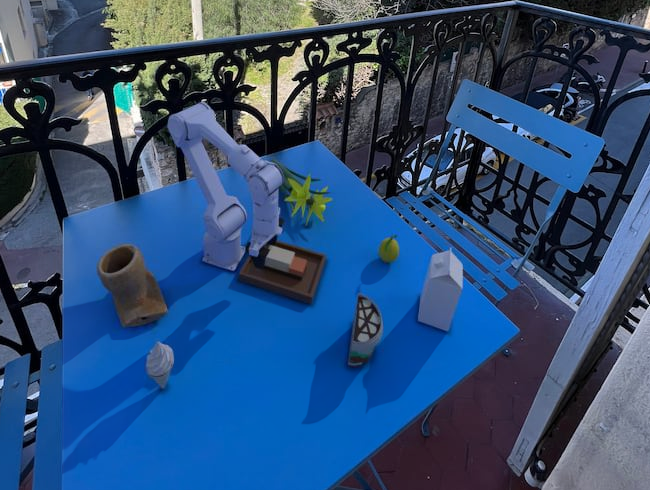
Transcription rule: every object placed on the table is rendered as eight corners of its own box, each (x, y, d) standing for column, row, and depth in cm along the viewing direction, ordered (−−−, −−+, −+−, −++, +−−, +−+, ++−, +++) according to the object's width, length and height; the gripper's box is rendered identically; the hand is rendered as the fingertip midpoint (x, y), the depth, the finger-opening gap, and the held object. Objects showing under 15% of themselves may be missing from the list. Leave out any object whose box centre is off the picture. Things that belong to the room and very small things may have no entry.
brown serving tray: (238, 280, 103) (238, 273, 102) (259, 241, 115) (260, 235, 114) (311, 304, 99) (312, 297, 98) (325, 261, 111) (326, 254, 110)
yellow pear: (381, 272, 109) (386, 245, 105) (371, 254, 114) (376, 228, 110) (402, 266, 111) (409, 240, 107) (392, 250, 116) (398, 224, 112)
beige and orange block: (261, 268, 106) (262, 256, 104) (268, 255, 110) (268, 243, 108) (301, 280, 104) (302, 268, 102) (306, 267, 107) (307, 255, 106)
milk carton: (449, 306, 101) (466, 251, 93) (448, 332, 95) (467, 276, 87) (420, 296, 103) (435, 242, 95) (417, 321, 97) (433, 265, 89)
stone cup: (101, 290, 98) (91, 246, 92) (152, 269, 104) (146, 226, 98) (113, 345, 87) (103, 298, 80) (169, 317, 93) (164, 272, 87)
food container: (376, 381, 84) (383, 352, 80) (347, 373, 85) (352, 344, 81) (379, 325, 95) (385, 297, 91) (353, 319, 96) (358, 290, 92)
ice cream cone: (161, 408, 77) (154, 360, 71) (144, 391, 79) (136, 343, 73) (182, 384, 81) (177, 337, 75) (165, 368, 83) (159, 321, 77)
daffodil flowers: (301, 169, 148) (354, 210, 118) (271, 198, 144) (319, 248, 114) (275, 137, 141) (326, 172, 111) (243, 167, 137) (287, 211, 107)
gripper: (269, 239, 86) (269, 283, 92) (292, 196, 99) (290, 237, 105) (239, 231, 88) (241, 275, 93) (265, 190, 101) (265, 231, 106)
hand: (265, 255), depth 99 cm, fingers open, 7 cm apart
